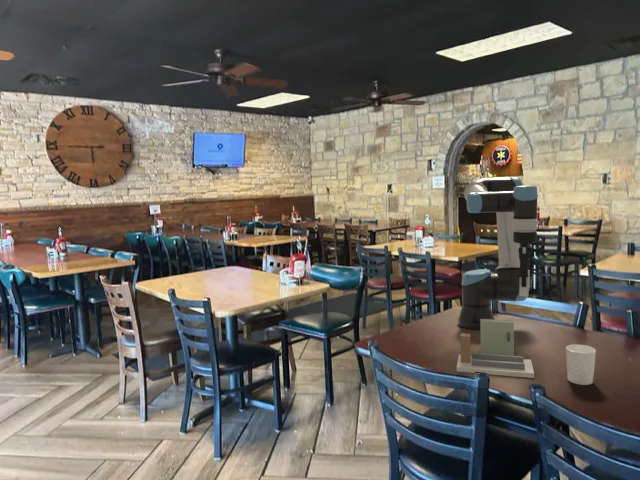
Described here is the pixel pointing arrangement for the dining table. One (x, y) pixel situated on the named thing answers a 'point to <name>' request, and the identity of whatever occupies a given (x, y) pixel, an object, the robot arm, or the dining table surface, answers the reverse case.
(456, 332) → the dining table surface
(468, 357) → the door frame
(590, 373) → the white cup
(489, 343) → the door panel
